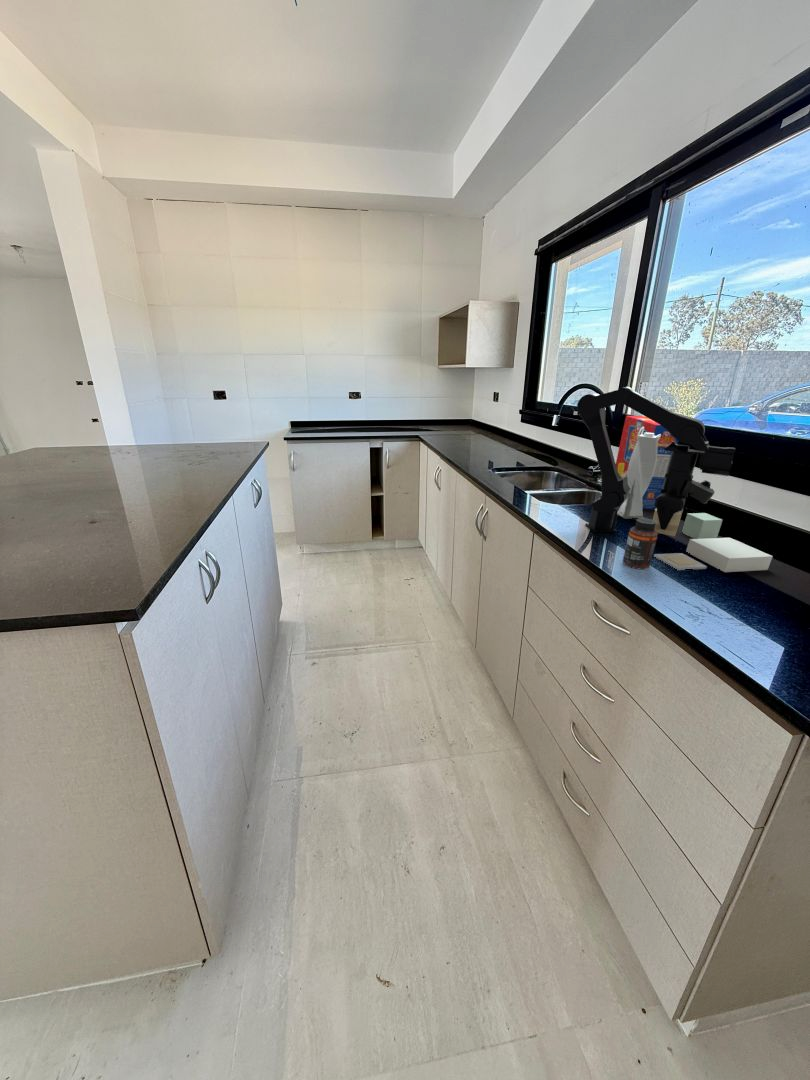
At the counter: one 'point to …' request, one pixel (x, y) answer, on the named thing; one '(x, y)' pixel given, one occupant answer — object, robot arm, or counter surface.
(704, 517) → the sage cube
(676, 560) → the tile
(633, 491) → the skyscraper
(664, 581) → the counter surface
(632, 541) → the supplement bottle
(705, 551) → the cream block
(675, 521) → the maple cube
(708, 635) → the counter surface
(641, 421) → the red and blue box
